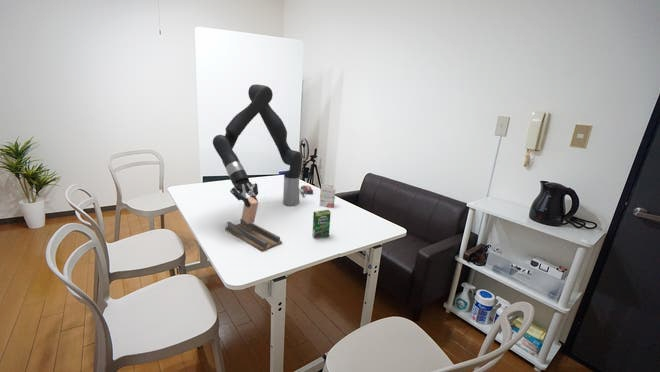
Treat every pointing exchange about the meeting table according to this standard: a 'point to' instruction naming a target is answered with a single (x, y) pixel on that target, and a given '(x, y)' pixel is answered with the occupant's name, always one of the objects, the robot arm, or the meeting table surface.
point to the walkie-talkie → (306, 190)
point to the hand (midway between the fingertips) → (252, 205)
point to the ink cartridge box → (327, 195)
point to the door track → (254, 235)
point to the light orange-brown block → (250, 211)
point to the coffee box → (321, 223)
